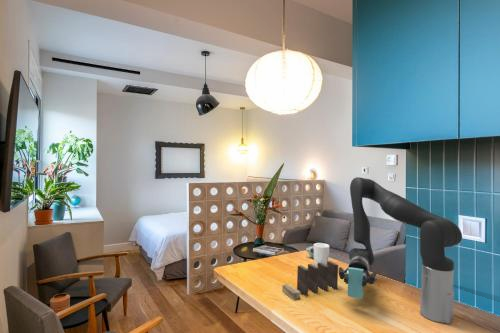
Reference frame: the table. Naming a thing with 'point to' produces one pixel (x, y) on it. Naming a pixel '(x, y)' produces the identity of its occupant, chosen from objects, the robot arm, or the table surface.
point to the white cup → (321, 253)
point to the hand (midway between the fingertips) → (354, 282)
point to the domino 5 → (355, 283)
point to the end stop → (291, 291)
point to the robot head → (310, 251)
